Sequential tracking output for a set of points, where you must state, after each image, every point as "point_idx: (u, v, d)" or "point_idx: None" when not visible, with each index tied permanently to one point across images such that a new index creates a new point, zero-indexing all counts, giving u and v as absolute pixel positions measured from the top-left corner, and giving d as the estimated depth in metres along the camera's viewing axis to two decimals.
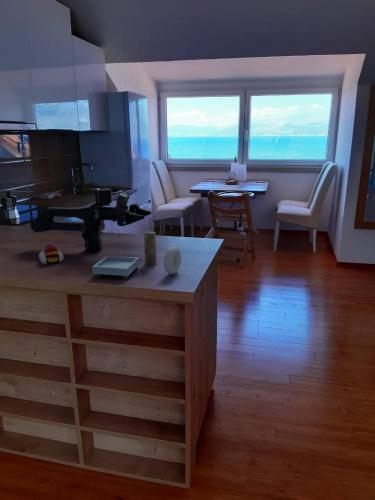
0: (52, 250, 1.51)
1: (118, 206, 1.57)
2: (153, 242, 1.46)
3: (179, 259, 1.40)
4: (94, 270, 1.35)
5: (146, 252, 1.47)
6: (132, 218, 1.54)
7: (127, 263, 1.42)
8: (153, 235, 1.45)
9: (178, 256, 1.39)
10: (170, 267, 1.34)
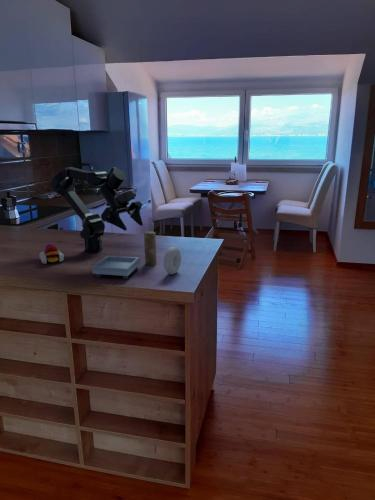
0: (52, 250, 1.51)
1: (117, 199, 1.48)
2: (153, 242, 1.46)
3: (179, 259, 1.40)
4: (94, 270, 1.35)
5: (146, 252, 1.47)
6: (116, 221, 1.47)
7: (127, 263, 1.42)
8: (153, 235, 1.45)
9: (178, 256, 1.39)
10: (170, 268, 1.34)
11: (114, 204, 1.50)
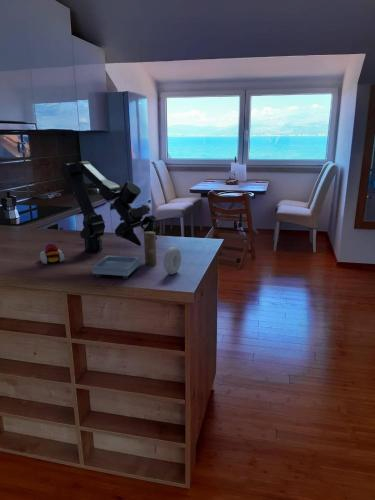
0: (53, 250, 1.52)
1: (131, 214, 1.46)
2: (153, 242, 1.46)
3: (179, 259, 1.40)
4: (94, 270, 1.35)
5: (146, 252, 1.47)
6: (130, 236, 1.44)
7: (127, 263, 1.42)
8: (153, 235, 1.45)
9: (178, 256, 1.39)
10: (170, 268, 1.34)
11: (128, 219, 1.47)
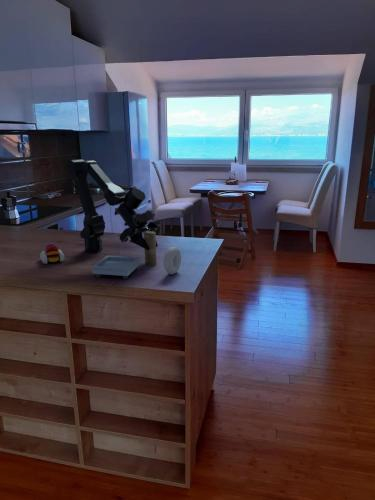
0: (53, 250, 1.52)
1: (136, 220, 1.45)
2: (153, 242, 1.46)
3: (179, 259, 1.40)
4: (94, 270, 1.35)
5: (146, 252, 1.47)
6: (139, 241, 1.46)
7: (127, 263, 1.42)
8: (153, 235, 1.45)
9: (178, 256, 1.39)
10: (170, 267, 1.34)
11: (133, 224, 1.47)
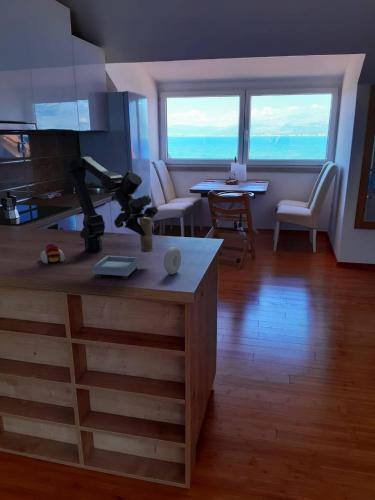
0: (53, 250, 1.52)
1: (131, 205, 1.42)
2: (149, 228, 1.43)
3: (179, 259, 1.40)
4: (94, 270, 1.35)
5: (142, 238, 1.44)
6: (134, 226, 1.43)
7: (127, 263, 1.42)
8: (149, 221, 1.42)
9: (178, 256, 1.39)
10: (170, 268, 1.34)
11: (128, 209, 1.44)
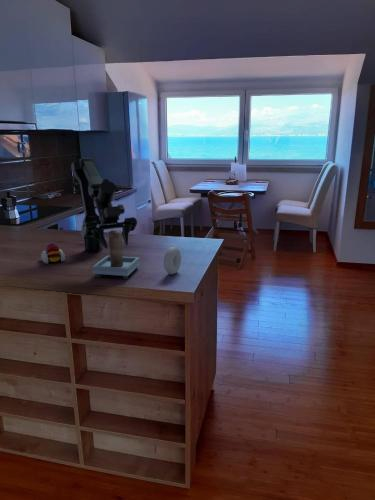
0: (54, 249, 1.52)
1: (103, 214, 1.37)
2: (116, 242, 1.35)
3: (179, 259, 1.40)
4: (94, 270, 1.35)
5: (110, 252, 1.37)
6: (99, 237, 1.36)
7: (127, 263, 1.42)
8: (115, 235, 1.34)
9: (178, 256, 1.39)
10: (170, 268, 1.34)
11: (102, 219, 1.39)
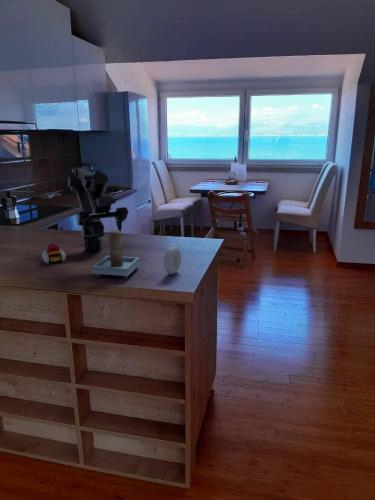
0: (54, 249, 1.52)
1: (95, 204, 1.44)
2: (116, 243, 1.35)
3: (179, 259, 1.40)
4: (94, 270, 1.35)
5: (110, 252, 1.37)
6: (90, 226, 1.43)
7: (127, 263, 1.42)
8: (115, 235, 1.34)
9: (178, 256, 1.39)
10: (170, 268, 1.34)
11: (94, 208, 1.46)
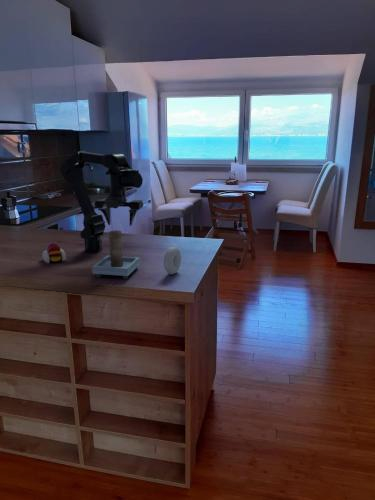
0: (55, 249, 1.53)
1: None
2: (116, 243, 1.35)
3: (179, 259, 1.40)
4: (94, 270, 1.35)
5: (110, 252, 1.37)
6: None
7: (127, 263, 1.42)
8: (115, 235, 1.34)
9: (178, 256, 1.39)
10: (170, 267, 1.34)
11: None
